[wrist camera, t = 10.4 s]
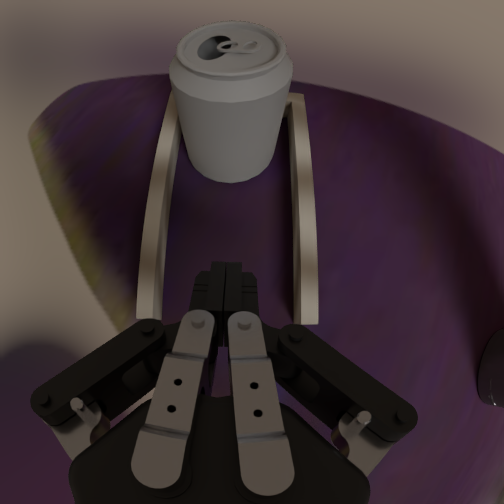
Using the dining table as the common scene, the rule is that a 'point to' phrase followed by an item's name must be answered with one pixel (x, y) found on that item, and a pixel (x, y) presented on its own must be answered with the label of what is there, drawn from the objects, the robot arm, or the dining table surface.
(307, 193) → the wooden frame
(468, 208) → the dining table surface
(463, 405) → the dining table surface
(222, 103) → the can
